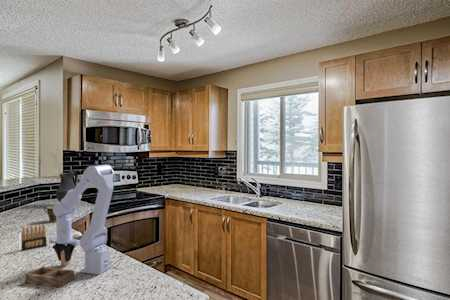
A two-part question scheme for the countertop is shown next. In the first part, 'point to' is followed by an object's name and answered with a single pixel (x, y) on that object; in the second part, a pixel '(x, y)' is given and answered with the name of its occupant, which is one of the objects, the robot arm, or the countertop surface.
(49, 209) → the ceramic cup
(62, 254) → the clay rod
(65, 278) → the rack
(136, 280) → the countertop surface
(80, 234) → the chocolate bar
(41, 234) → the ammunition clip
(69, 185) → the pitcher
